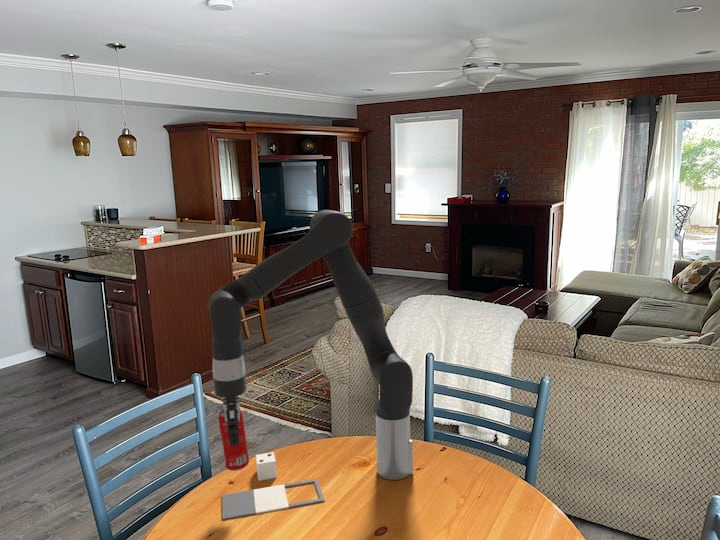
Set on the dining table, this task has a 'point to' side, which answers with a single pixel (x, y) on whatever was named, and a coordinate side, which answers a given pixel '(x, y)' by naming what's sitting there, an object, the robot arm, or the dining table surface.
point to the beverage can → (236, 454)
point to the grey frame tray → (263, 500)
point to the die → (266, 466)
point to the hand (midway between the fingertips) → (234, 438)
